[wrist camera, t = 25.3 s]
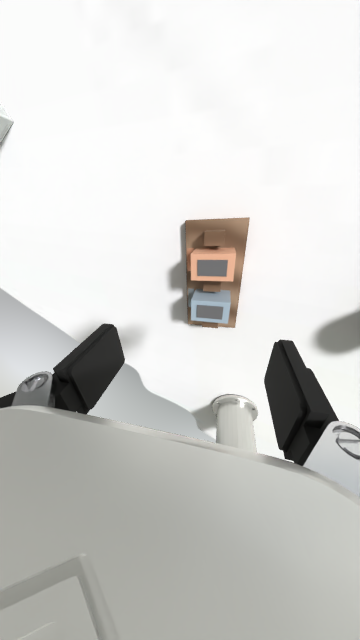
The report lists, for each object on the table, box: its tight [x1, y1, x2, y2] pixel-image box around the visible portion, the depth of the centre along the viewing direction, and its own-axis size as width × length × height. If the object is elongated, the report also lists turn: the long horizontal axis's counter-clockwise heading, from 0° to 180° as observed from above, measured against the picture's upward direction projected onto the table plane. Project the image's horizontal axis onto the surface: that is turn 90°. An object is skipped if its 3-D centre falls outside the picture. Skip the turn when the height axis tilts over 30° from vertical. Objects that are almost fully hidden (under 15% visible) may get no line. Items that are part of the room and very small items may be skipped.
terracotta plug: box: [191, 248, 236, 282], centre depth 29 cm, size 4×6×6 cm, turn 93°
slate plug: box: [191, 289, 231, 324], centre depth 33 cm, size 4×6×6 cm, turn 91°
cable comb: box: [185, 218, 250, 328], centre depth 33 cm, size 20×10×4 cm, turn 3°
